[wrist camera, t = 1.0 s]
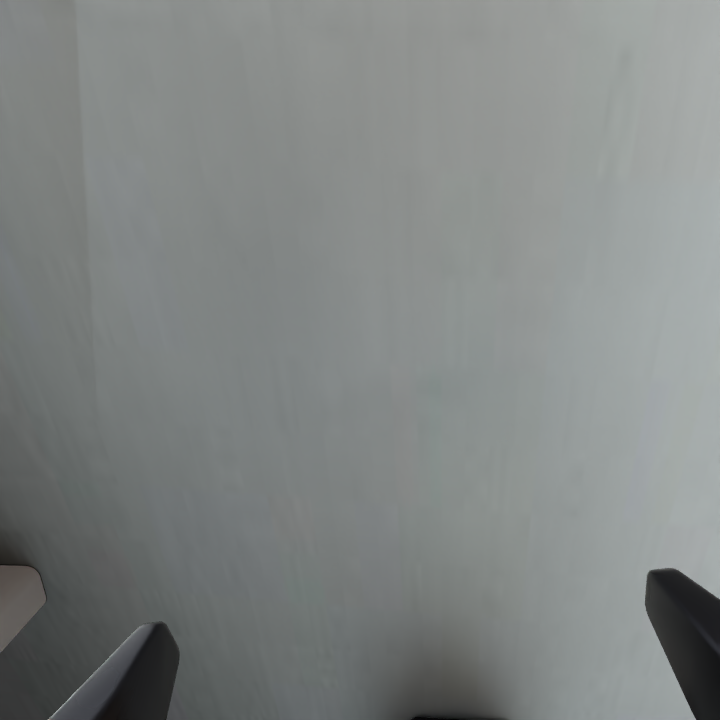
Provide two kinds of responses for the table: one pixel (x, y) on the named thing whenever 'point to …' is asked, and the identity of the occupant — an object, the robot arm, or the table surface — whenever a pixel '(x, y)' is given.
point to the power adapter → (18, 599)
